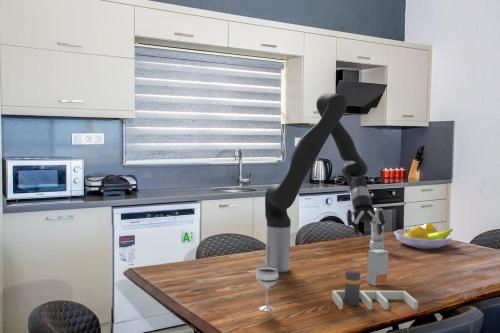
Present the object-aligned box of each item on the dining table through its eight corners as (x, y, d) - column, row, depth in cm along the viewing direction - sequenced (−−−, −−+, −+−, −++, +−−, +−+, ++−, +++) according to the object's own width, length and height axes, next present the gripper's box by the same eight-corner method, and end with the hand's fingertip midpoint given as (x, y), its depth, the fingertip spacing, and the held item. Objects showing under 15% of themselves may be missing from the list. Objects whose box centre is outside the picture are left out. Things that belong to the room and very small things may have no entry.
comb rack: (339, 309, 140) (339, 301, 140) (331, 297, 150) (332, 290, 150) (417, 309, 141) (417, 301, 141) (404, 298, 151) (404, 290, 151)
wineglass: (258, 303, 143) (259, 265, 143) (280, 306, 142) (281, 267, 141) (252, 310, 137) (253, 270, 136) (274, 313, 135) (275, 273, 134)
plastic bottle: (384, 253, 212) (386, 209, 211) (369, 252, 214) (371, 209, 212) (383, 249, 219) (385, 207, 217) (368, 248, 220) (370, 207, 219)
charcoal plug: (346, 306, 142) (347, 274, 142) (342, 301, 147) (343, 270, 146) (361, 306, 143) (362, 274, 142) (356, 301, 147) (358, 270, 147)
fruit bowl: (383, 241, 238) (384, 219, 237) (427, 239, 246) (428, 217, 245) (418, 254, 211) (419, 230, 210) (466, 251, 219) (468, 228, 219)
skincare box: (374, 286, 163) (376, 252, 162) (366, 282, 167) (367, 250, 166) (387, 284, 166) (389, 251, 165) (379, 280, 170) (380, 248, 169)
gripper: (345, 194, 185) (352, 228, 174) (381, 194, 185) (390, 228, 174) (342, 205, 190) (348, 239, 179) (376, 206, 191) (384, 239, 180)
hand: (368, 234), depth 177 cm, fingers open, 8 cm apart
